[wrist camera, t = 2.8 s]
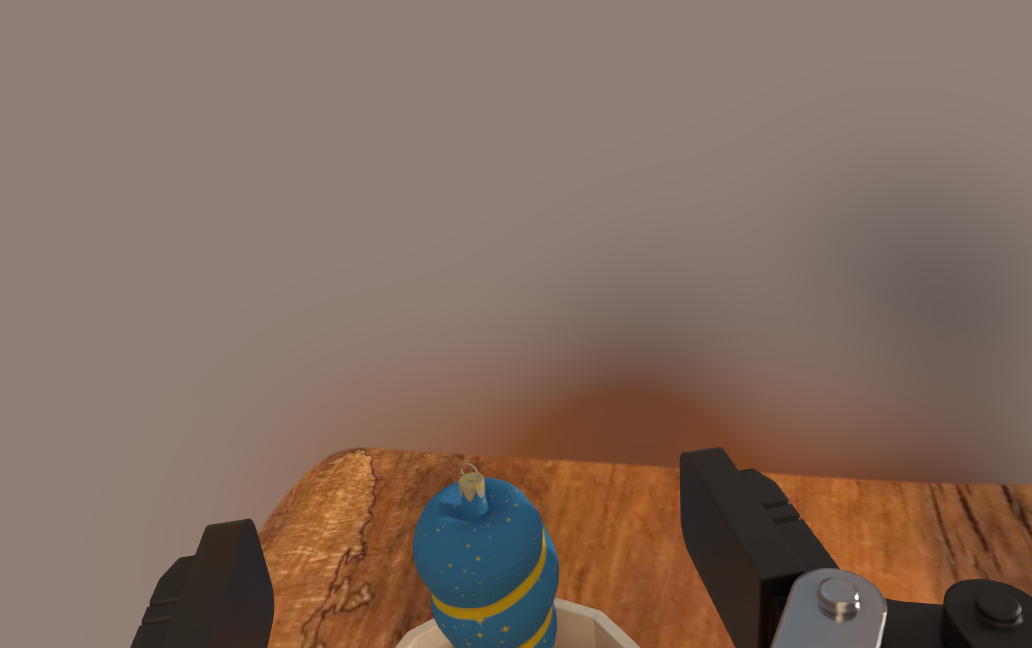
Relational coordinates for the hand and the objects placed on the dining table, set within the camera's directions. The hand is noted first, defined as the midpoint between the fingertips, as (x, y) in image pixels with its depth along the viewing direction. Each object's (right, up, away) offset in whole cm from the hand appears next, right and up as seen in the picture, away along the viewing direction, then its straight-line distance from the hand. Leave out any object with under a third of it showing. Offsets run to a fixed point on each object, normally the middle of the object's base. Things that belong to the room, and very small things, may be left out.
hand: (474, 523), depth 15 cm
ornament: (+1, -15, +19) cm, 24 cm away
